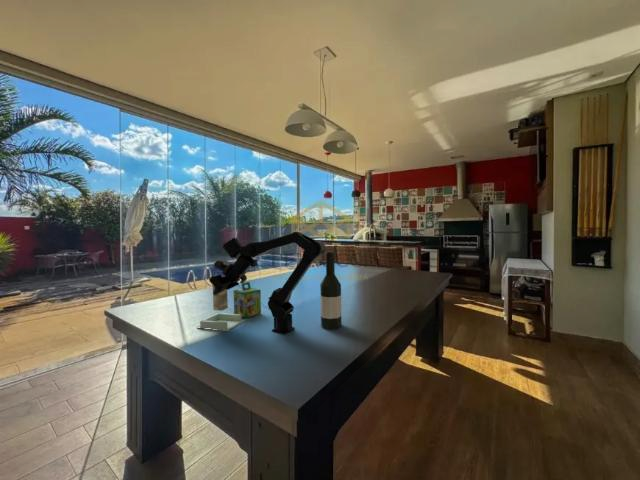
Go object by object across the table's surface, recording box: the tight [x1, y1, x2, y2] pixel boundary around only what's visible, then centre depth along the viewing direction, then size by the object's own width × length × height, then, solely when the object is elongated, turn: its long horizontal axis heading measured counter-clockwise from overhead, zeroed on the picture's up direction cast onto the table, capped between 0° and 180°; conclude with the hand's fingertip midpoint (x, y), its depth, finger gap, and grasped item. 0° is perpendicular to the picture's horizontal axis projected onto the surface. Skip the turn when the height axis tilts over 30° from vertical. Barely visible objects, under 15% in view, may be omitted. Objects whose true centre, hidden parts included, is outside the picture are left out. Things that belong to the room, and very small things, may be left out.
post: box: [212, 284, 229, 312], centre depth 114 cm, size 4×4×13 cm
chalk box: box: [233, 281, 262, 319], centre depth 128 cm, size 9×9×15 cm
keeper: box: [197, 312, 245, 332], centre depth 114 cm, size 14×12×3 cm
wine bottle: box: [319, 250, 342, 330], centre depth 110 cm, size 8×8×30 cm
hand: (217, 293), depth 114 cm, fingers closed on post, 4 cm apart
